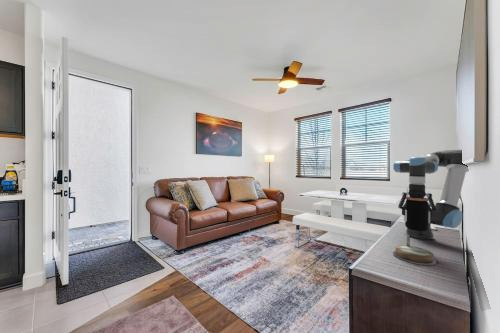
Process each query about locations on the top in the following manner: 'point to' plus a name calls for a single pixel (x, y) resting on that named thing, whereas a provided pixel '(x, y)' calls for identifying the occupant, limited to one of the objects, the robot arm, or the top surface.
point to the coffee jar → (417, 214)
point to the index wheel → (414, 253)
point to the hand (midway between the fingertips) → (416, 221)
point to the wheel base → (415, 262)
